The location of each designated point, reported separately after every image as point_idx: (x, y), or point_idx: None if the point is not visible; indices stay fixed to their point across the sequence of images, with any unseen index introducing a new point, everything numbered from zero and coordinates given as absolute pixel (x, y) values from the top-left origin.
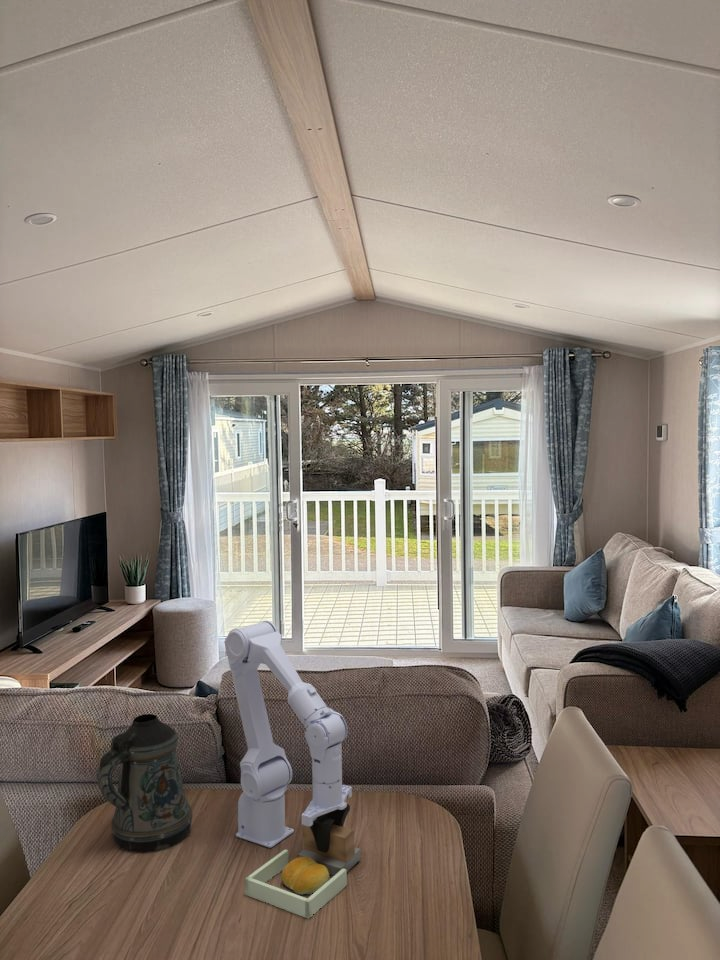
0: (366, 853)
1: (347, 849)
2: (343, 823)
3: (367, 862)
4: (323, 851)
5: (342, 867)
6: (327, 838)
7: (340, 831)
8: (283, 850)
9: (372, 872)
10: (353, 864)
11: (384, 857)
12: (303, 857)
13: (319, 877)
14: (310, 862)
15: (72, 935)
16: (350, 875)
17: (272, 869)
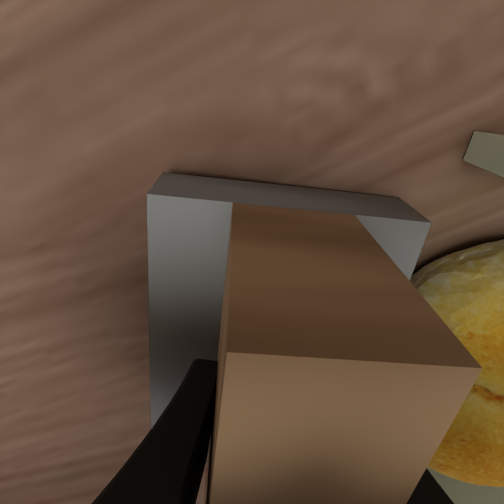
0: (69, 174)
1: (361, 258)
2: (112, 489)
3: (158, 120)
4: None
5: (409, 218)
6: (435, 493)
7: (325, 468)
8: None
9: (259, 21)
10: (257, 185)
11: (31, 24)
12: (462, 459)
13: None
14: (478, 408)
15: None
16: (348, 159)
17: (481, 494)
